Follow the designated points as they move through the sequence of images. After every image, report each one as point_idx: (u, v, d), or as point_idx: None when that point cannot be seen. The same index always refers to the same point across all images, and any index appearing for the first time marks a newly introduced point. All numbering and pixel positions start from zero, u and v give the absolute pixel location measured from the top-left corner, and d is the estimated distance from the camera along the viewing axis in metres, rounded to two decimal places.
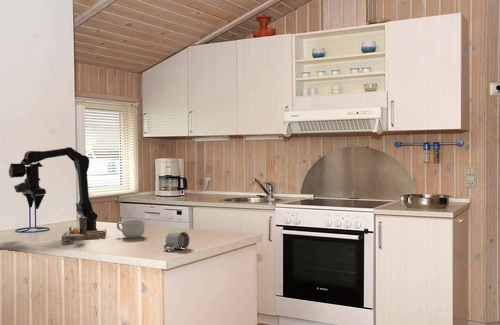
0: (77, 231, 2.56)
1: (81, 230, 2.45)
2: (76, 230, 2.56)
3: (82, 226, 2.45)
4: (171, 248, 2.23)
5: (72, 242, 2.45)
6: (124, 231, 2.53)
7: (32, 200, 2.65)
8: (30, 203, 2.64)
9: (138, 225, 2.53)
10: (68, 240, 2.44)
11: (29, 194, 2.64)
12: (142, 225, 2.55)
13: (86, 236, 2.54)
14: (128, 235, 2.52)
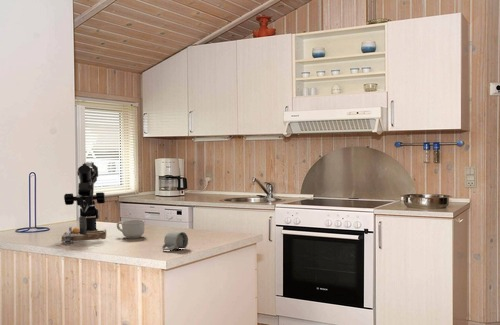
0: (77, 231, 2.56)
1: (81, 230, 2.45)
2: (76, 230, 2.56)
3: (82, 226, 2.45)
4: (170, 248, 2.22)
5: (72, 242, 2.45)
6: (124, 231, 2.53)
7: None
8: None
9: (138, 225, 2.53)
10: (68, 240, 2.44)
11: None
12: (142, 225, 2.55)
13: (86, 236, 2.54)
14: (128, 235, 2.52)
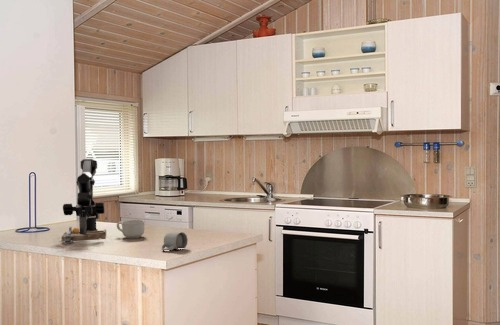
0: (77, 231, 2.56)
1: (81, 230, 2.45)
2: (76, 230, 2.56)
3: (82, 226, 2.45)
4: (169, 249, 2.22)
5: (72, 242, 2.45)
6: (124, 231, 2.53)
7: None
8: None
9: (138, 225, 2.53)
10: (68, 240, 2.44)
11: (82, 212, 2.52)
12: (142, 225, 2.55)
13: (86, 236, 2.54)
14: (128, 235, 2.52)
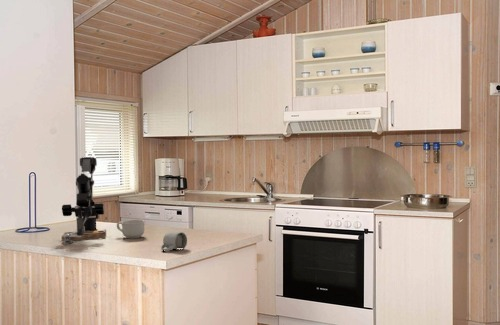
0: None
1: (77, 231, 2.42)
2: None
3: (78, 227, 2.42)
4: (168, 249, 2.21)
5: (72, 242, 2.45)
6: (124, 231, 2.53)
7: None
8: None
9: (138, 225, 2.53)
10: (68, 240, 2.44)
11: (81, 213, 2.49)
12: (142, 225, 2.55)
13: (86, 236, 2.54)
14: (128, 235, 2.52)
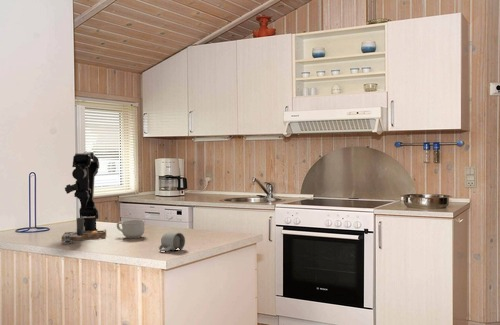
0: None
1: (77, 231, 2.42)
2: None
3: (78, 227, 2.42)
4: (166, 249, 2.20)
5: (72, 242, 2.45)
6: (124, 231, 2.53)
7: None
8: None
9: (138, 225, 2.53)
10: (68, 240, 2.44)
11: None
12: (142, 225, 2.55)
13: (86, 236, 2.54)
14: (128, 235, 2.52)
